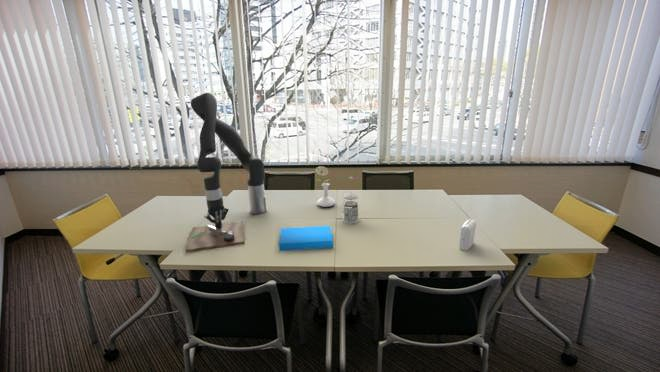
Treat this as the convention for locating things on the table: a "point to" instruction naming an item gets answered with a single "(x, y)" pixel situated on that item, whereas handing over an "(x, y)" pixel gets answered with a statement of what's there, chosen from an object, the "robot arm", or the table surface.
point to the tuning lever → (222, 233)
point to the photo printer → (467, 235)
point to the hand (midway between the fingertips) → (219, 228)
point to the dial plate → (215, 237)
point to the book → (305, 238)
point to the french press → (353, 212)
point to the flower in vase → (325, 200)
